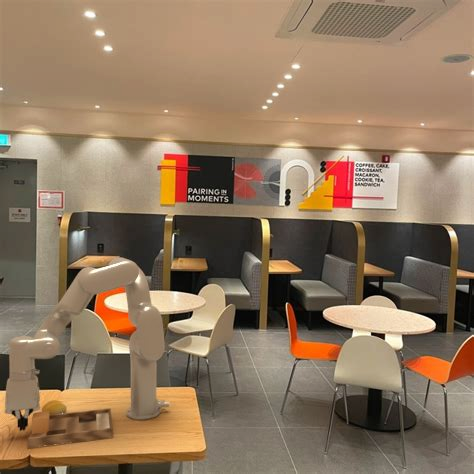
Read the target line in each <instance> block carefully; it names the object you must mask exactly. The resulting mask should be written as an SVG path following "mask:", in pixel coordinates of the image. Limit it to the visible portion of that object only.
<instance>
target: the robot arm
mask: <svg viewBox="0 0 474 474" xmlns="http://www.w3.org/2000/svg"><path fill="white" fill-rule="evenodd" d="M120 288H124V290H125V291H124V292H125V296H126V302H127V303H126V304H127V310H128V311H127V313H128V320H129V322H130V323H131V324H132V326H134V327H135V328H136V330H135V331H134V332H132V333H131V335H130V337H129V342H128V349H129V357H130V358H129V359H130V406H129V407H128V408H127V409H126V412H125V413H126V416H127V417H128V418H130V419H132V420H136V421H137V420H138V421H139V420H140V421H143V420H144V421H145V420H149V419H150V420H151V419H153V418H156V417H157V416H159V415H160V413H161V408H169V407H170V402H169V401H165V399H161V400H158V399H157V367H158V365H157V361H158V360H160V358H162V356H163V355H164V352H165V349H166V347H165V346H166V343H165V334H164V332H165V331H164V324H163V318H162V313H161V312H160V310H159V309H158V308H157V307H156V306H154V305H153V304H152V300H151V294H150V293H151V292H150V286H149V282H148V279H147V277H146V275H145V273H144V271H143V270H142V269H141V268H140V267H139V266H138V265H137V263H136V262H134V261H132V260H130V259H128V258H126V257H125V258H124V257H121V256H120V257H114V258H113V259H111V260H110V261H109V263H108V265H107V266H103V267H98V268H95V267H91V266H87V267H84V268H82V269H81V270H80V271H79V272H78V273H77V275H76V276H75V278H74V279H73V281H72V282H71V284H70V286H69V287H68V289H66V292H65V293H64V294H63V296H62V297H61V299H60V300H59V302H58V303H57V304H56V305H55V306H54V308H53V309H52V310H51V311H50V312H49V313H48V314H47V316H46V318H45V319H44V320H43V322H42V323H41V325H40V327H38V329H37V331H36V333H35V334H34V335H33V337H32V336H28V335H21V336H16V337H13V338H11V339H10V340H9V345H8V347H9V352H8V354H9V355H8V356H9V357H8V359H9V378H7V381H6V388H5V396H4V397H5V400H4V401H5V402H4V405H5V406H4V407H5V408H4V409H5V410H4V413H5V414H6V415H12V416H14V417H15V418H16V419H17V428H19V432H21V431H23V432H24V431H26V428H27V427H28V426H29V417H30V415H31V414H33V413H35V412H37V411H40V410H41V405H40V404H41V403H40V399H41V398H40V396H41V395H40V383H39V378H38V376H37V375H39V374H40V369H36V366H35V360H49V359H53V358H54V357H56V356H57V355H58V354H59V353H60V351H61V350H60V349H61V344H60V342H59V341H60V340H58V339H59V337H60V335H61V333H62V332H63V331H64V329H65V328H66V327H67V326H68V325H69V324H70V323H71V322H72V321H74V320H76V319H77V318H79V317H80V316H81V315H82V314H83V313H84V311H85V310H86V308H87V306H88V305H89V303H90V302H91V300H92V299H93V297H94V296H95V295H100V294H103V293H107V292H111V291H114V290H117V289H120ZM22 410H24V414H22Z"/></svg>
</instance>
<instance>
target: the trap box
mask: <svg viewBox="0 0 474 474" xmlns="http://www.w3.org/2000/svg"><path fill="white" fill-rule="evenodd" d="M113 429H114V427H113V420H112V409H111V407H110V408H101V409H94V410H84V411H74V412H65V413H63V414H54V415H49V430H48V432H44V433H35V434H32V428H31V430H30V433H29V437H28V438H27V449H28V450H29V449H36V448H35V447H38V448H40V447H39V446H44V445H54V444H62V443H70V442H77V443H84V442H83V441H85V442H91V440H93V441H99V440H100V441H101V440H107V439H113V438H114V436H113V435H114V433H113V432H114V431H113ZM70 444H71V443H70ZM62 445H63V444H62ZM54 446H55V445H54Z"/></svg>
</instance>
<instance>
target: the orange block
mask: <svg viewBox="0 0 474 474" xmlns="http://www.w3.org/2000/svg"><path fill="white" fill-rule="evenodd" d="M31 429H32V434H35V433H44V432H48V430H49V411H46V412H42V411H38V412H37V411H36V412H32V416H31Z"/></svg>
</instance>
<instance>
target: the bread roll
mask: <svg viewBox="0 0 474 474" xmlns="http://www.w3.org/2000/svg"><path fill="white" fill-rule="evenodd" d="M46 411H49V415H54V414H62V413H64V412H65V411H66V412H67V406H66V404H64V403H63V402H61V401H60V400H57V399H55V400H49V401H48V402H46V403H45V404H44V405H43V406H42V407H41V412H46ZM66 412H65V413H66Z"/></svg>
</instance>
